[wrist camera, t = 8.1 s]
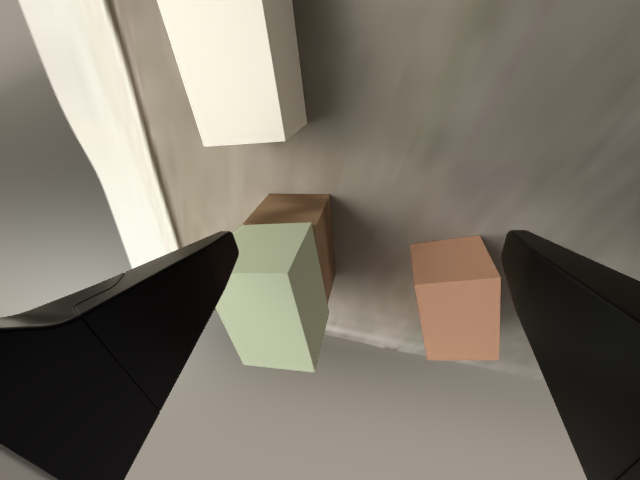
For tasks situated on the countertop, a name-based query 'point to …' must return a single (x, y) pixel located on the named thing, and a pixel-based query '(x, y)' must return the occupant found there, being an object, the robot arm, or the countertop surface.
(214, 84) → the off-white brick
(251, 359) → the sage brick
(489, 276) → the terracotta brick
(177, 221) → the countertop surface
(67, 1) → the countertop surface
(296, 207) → the walnut brick
